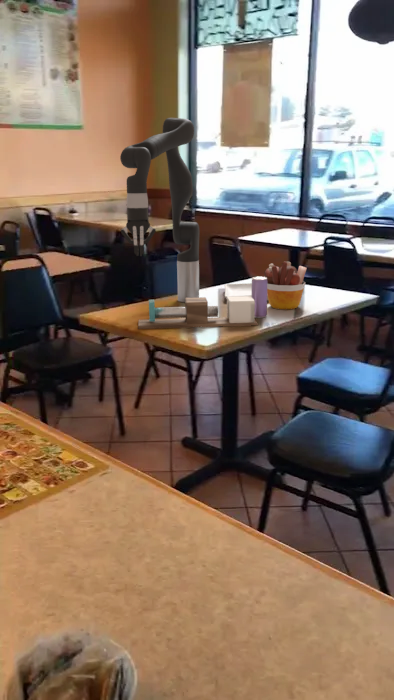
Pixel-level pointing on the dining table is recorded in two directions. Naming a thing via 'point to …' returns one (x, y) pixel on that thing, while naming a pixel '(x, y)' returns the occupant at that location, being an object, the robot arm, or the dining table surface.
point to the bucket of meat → (285, 286)
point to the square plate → (239, 290)
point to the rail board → (191, 318)
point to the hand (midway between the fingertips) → (139, 255)
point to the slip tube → (174, 311)
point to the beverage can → (260, 296)
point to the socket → (240, 309)
